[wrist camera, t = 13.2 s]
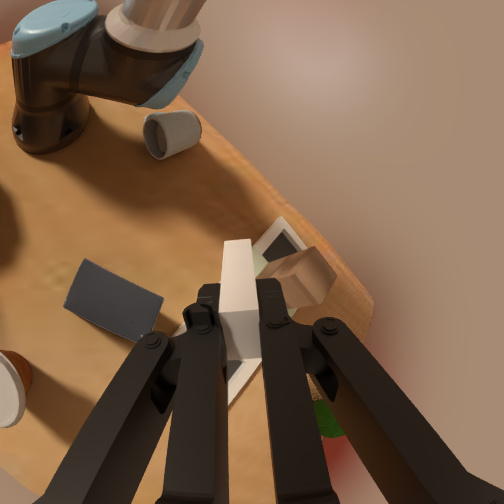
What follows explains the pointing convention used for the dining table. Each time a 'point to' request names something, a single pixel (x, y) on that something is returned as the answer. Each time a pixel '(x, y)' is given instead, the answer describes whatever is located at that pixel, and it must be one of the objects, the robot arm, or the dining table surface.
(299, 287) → the walnut block
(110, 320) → the small box
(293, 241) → the trap board
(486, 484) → the robot arm
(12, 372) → the disposable coffee cup
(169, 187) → the dining table surface
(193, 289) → the dining table surface
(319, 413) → the bell pepper
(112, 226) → the dining table surface
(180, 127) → the ceramic mug
